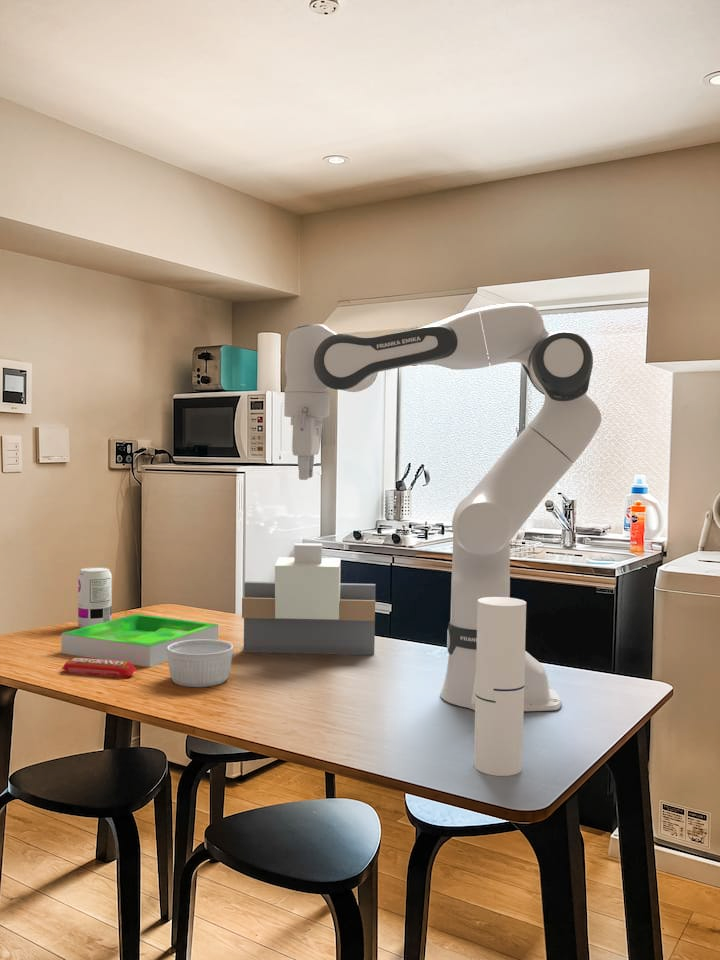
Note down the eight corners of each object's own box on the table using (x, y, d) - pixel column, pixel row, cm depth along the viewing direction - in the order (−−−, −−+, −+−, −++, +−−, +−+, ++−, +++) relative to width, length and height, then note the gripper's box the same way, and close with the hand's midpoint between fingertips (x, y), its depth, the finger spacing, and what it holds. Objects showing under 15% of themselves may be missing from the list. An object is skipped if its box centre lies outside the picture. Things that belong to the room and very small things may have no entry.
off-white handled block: (340, 609, 190) (340, 541, 187) (338, 619, 183) (339, 549, 180) (279, 607, 190) (278, 539, 188) (275, 618, 184) (274, 547, 181)
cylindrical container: (522, 777, 121) (526, 607, 120) (473, 773, 122) (476, 604, 121) (521, 759, 128) (525, 598, 127) (474, 755, 129) (478, 595, 128)
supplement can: (73, 630, 210) (73, 571, 209) (85, 623, 218) (85, 566, 218) (104, 631, 210) (105, 572, 209) (115, 624, 218) (116, 567, 217)
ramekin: (214, 668, 177) (214, 635, 177) (245, 682, 167) (245, 648, 167) (155, 677, 169) (156, 644, 169) (184, 693, 159) (184, 657, 159)
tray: (149, 669, 177) (150, 646, 177) (61, 655, 188) (61, 633, 187) (218, 644, 200) (218, 624, 199) (135, 633, 210) (135, 613, 210)
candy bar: (59, 674, 172) (59, 660, 171) (69, 669, 175) (69, 655, 175) (130, 680, 168) (130, 666, 168) (139, 675, 171) (139, 661, 171)
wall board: (374, 648, 196) (375, 581, 196) (374, 658, 187) (375, 587, 187) (247, 645, 197) (248, 578, 196) (241, 655, 188) (242, 584, 187)
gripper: (319, 406, 153) (318, 481, 154) (326, 410, 173) (325, 476, 174) (284, 405, 153) (283, 480, 154) (295, 410, 174) (295, 476, 174)
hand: (305, 478), depth 164 cm, fingers open, 8 cm apart
